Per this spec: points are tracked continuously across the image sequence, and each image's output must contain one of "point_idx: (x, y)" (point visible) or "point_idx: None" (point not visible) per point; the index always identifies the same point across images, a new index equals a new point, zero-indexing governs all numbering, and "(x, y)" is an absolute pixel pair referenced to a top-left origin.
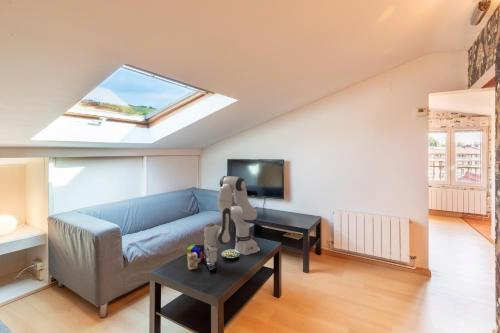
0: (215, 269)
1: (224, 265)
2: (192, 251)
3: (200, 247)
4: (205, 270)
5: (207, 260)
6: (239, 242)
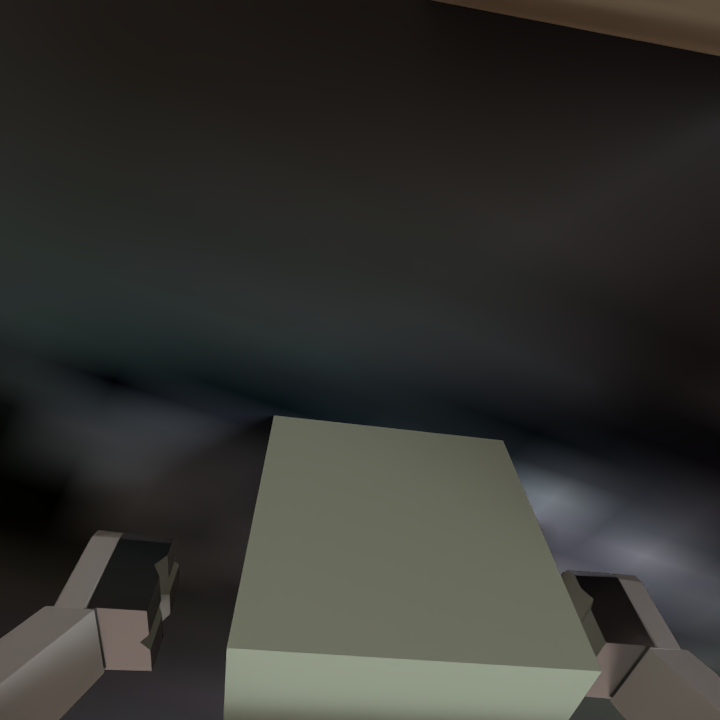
0: (20, 527)
1: (175, 712)
2: None
3: None
4: (37, 248)
5: (322, 636)
6: None
